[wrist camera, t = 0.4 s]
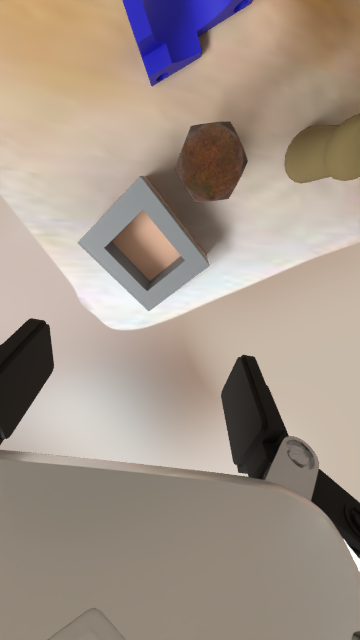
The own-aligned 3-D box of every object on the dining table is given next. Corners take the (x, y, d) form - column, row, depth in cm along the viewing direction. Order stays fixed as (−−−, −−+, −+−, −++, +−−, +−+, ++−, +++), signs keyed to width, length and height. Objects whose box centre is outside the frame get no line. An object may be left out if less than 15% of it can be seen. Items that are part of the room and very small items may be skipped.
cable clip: (151, 87, 26) (145, 65, 21) (132, 32, 24) (120, -7, 19) (254, 25, 24) (274, -17, 19) (243, -43, 21) (263, -111, 16)
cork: (340, 126, 28) (420, 102, 19) (322, 183, 31) (383, 186, 22) (292, 125, 28) (348, 99, 18) (279, 182, 31) (321, 185, 22)
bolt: (204, 200, 32) (220, 216, 20) (172, 183, 31) (167, 187, 18) (225, 155, 29) (260, 139, 17) (191, 134, 28) (200, 100, 16)
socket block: (145, 176, 31) (140, 176, 26) (206, 255, 36) (209, 265, 32) (89, 234, 35) (77, 242, 31) (152, 297, 41) (148, 311, 36)
